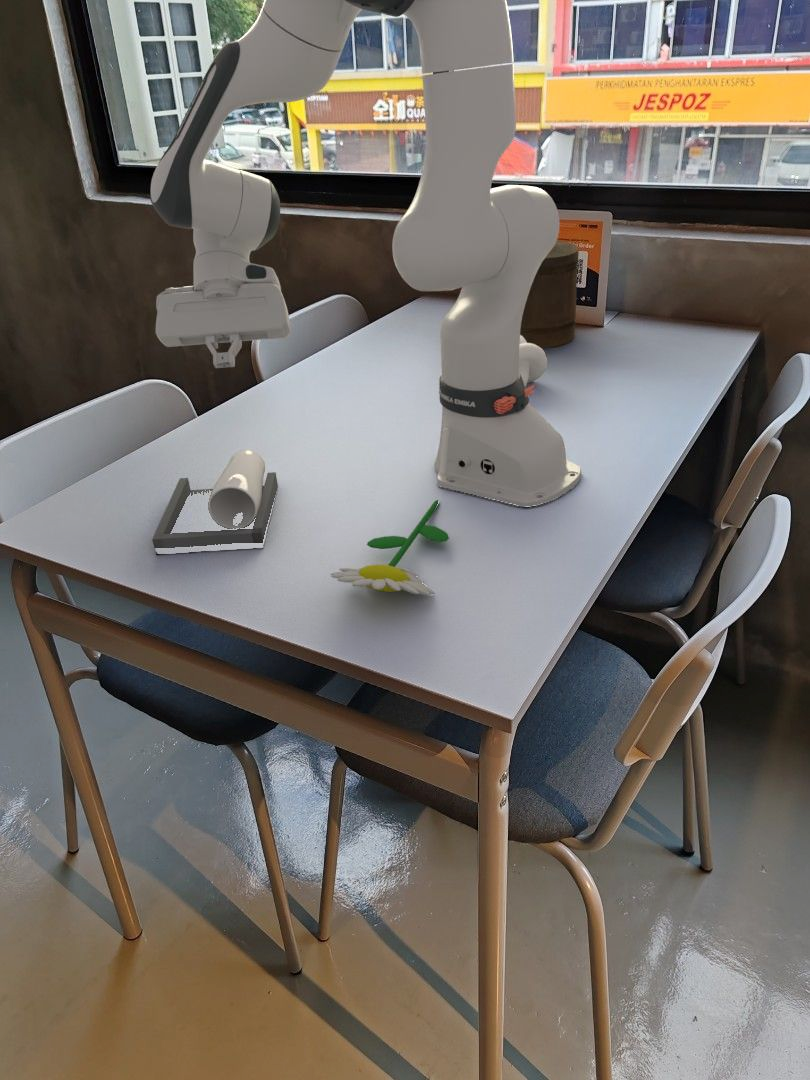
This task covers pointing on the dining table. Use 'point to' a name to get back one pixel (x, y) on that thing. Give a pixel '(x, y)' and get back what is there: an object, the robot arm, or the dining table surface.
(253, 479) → the drinking glass
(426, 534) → the decorative flower
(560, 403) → the dining table surface
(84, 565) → the dining table surface
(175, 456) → the dining table surface
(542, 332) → the wooden container
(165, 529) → the tray
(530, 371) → the white rounded piece
